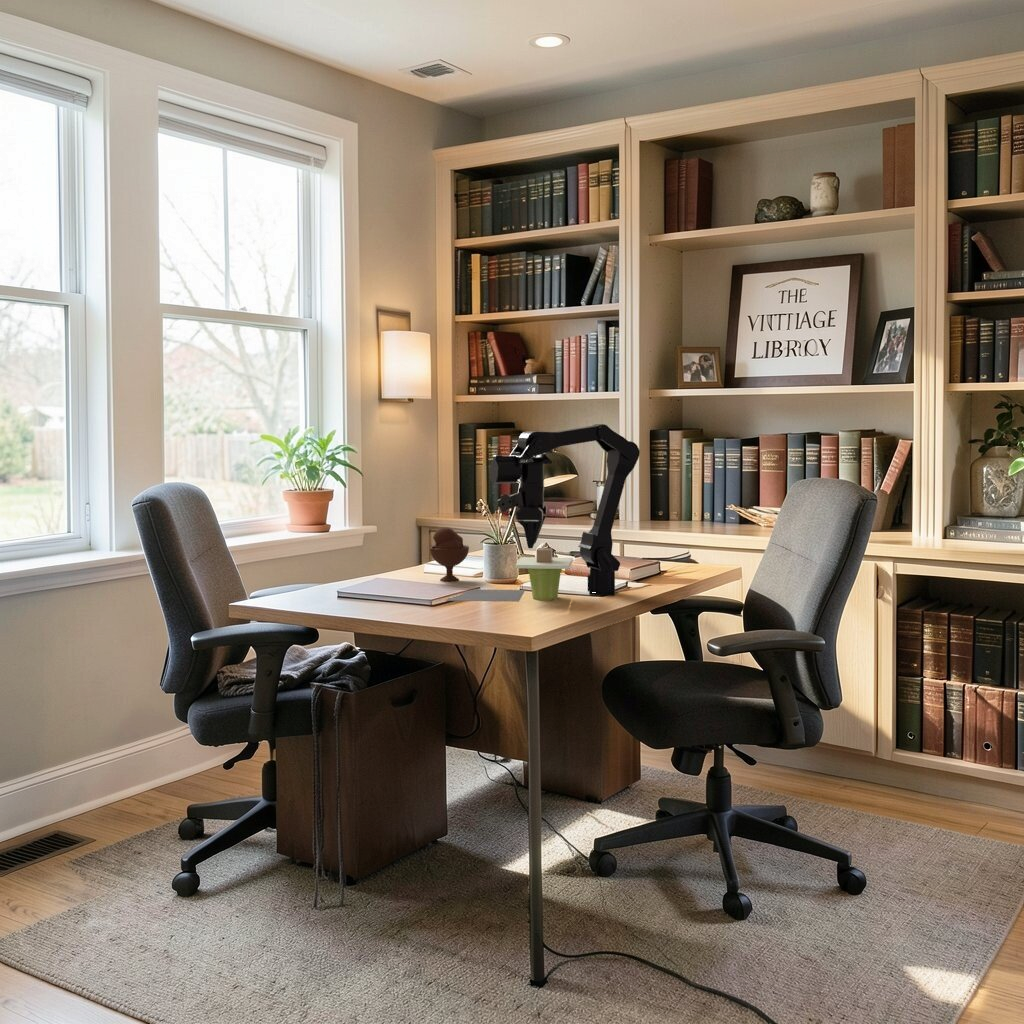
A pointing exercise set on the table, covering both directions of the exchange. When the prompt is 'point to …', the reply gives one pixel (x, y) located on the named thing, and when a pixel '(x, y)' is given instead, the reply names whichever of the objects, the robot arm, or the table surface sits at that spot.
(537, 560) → the sage lid
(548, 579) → the plant pot
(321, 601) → the table surface
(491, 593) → the gray flat panel
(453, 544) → the ice cream bowl
